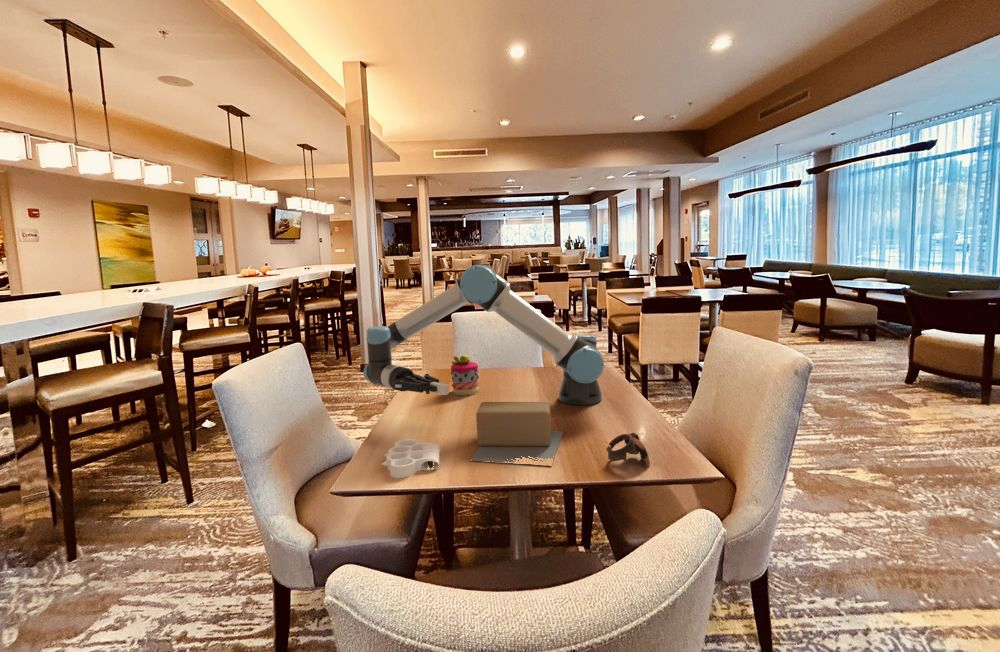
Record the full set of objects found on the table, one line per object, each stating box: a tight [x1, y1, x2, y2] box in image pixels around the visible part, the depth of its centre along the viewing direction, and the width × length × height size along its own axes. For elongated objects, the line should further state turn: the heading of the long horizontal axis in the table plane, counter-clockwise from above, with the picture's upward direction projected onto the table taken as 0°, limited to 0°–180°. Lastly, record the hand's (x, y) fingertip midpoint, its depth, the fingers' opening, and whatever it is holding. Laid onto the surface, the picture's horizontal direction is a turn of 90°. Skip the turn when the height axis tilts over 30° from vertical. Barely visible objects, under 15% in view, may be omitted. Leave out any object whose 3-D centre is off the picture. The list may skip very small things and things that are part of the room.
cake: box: [450, 354, 480, 397], centre depth 194 cm, size 10×11×15 cm
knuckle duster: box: [380, 438, 441, 479], centre depth 131 cm, size 3×18×15 cm
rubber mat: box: [470, 430, 564, 462], centre depth 139 cm, size 21×24×1 cm
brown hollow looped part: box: [606, 432, 651, 469], centre depth 127 cm, size 12×10×8 cm
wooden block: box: [475, 401, 552, 447], centre depth 142 cm, size 10×10×20 cm
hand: (446, 390), depth 146 cm, fingers closed
